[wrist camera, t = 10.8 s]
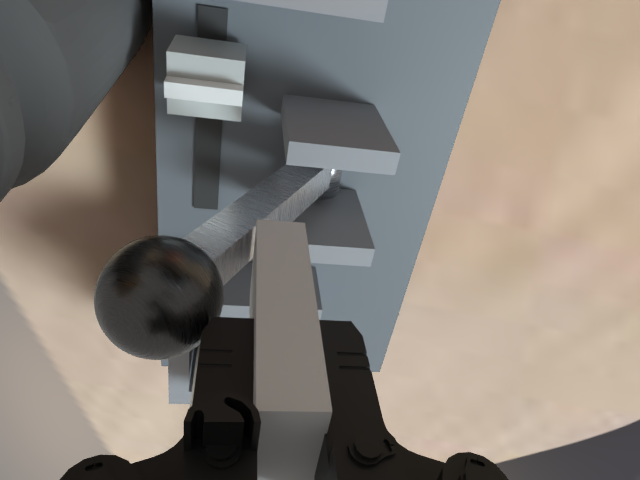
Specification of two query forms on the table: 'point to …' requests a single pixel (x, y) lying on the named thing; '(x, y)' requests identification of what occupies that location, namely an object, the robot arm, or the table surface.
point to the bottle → (58, 74)
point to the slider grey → (205, 78)
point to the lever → (195, 267)
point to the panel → (324, 138)
